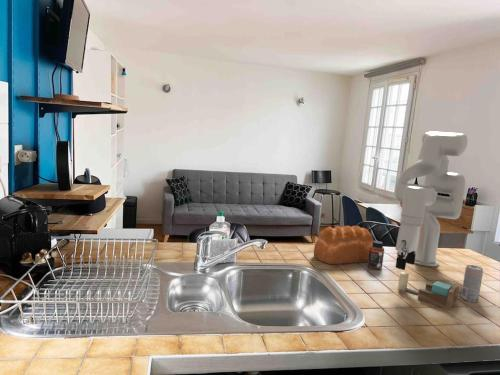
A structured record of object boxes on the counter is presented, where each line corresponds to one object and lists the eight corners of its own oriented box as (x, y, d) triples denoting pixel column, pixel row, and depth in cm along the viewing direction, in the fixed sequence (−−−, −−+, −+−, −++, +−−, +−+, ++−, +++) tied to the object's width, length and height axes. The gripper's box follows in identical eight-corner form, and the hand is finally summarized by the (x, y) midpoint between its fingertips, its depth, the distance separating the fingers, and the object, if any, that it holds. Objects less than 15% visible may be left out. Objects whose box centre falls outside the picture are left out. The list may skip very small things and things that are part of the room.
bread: (310, 255, 171) (313, 222, 169) (357, 252, 181) (360, 221, 179) (327, 266, 158) (331, 231, 156) (377, 262, 169) (381, 229, 167)
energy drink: (476, 298, 136) (481, 266, 134) (479, 303, 131) (485, 271, 129) (459, 295, 138) (464, 263, 136) (462, 300, 133) (467, 268, 131)
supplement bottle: (382, 270, 158) (386, 244, 156) (368, 268, 159) (371, 242, 157) (380, 266, 164) (384, 240, 162) (366, 264, 165) (369, 239, 163)
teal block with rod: (395, 289, 138) (397, 274, 137) (400, 286, 142) (402, 271, 141) (445, 306, 127) (448, 289, 126) (449, 301, 131) (452, 285, 130)
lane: (425, 292, 138) (427, 276, 137) (456, 301, 131) (458, 285, 131) (417, 299, 131) (420, 282, 130) (449, 309, 125) (452, 292, 124)
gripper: (409, 216, 144) (402, 259, 146) (392, 220, 131) (385, 267, 133) (429, 220, 139) (423, 264, 141) (414, 225, 126) (407, 274, 128)
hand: (404, 266), depth 137 cm, fingers open, 9 cm apart
